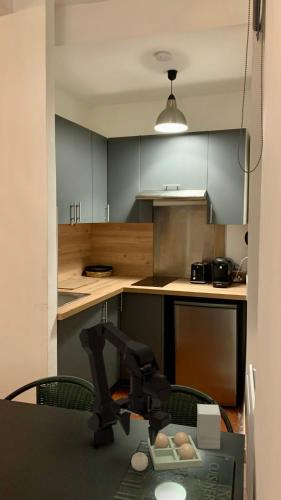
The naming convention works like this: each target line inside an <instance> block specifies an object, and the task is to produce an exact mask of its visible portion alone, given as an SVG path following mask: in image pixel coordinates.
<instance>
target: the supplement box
mask: <svg viewBox="0 0 281 500" xmlns="http://www.w3.org/2000/svg"><path fill="white" fill-rule="evenodd" d="M196 409H197V411H196V412H197V413H196V414H197V415H196V420H197V421H196V442H197V443H196V444H197V449H205V450H220V449H221V426H222V425H221V417H222V415H221V411H220V408H219V405H218V404H201V403H197V407H196Z"/></svg>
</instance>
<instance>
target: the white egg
mask: <svg viewBox="0 0 281 500" xmlns="http://www.w3.org/2000/svg"><path fill="white" fill-rule="evenodd" d="M130 462H131V466H132V468H133V469H134V470H135V471H137V472H143V471H144V470H146V469H147V467H148V464H149V458H148V456H147V454H145V453H143V452H142V451H141V452H140V451H139V452H136V453H134V454H133V455H132V457H131V461H130Z"/></svg>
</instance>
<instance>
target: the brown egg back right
mask: <svg viewBox="0 0 281 500" xmlns="http://www.w3.org/2000/svg"><path fill="white" fill-rule="evenodd" d="M188 435H189V434H187V433H186V432H183V431H180V432H177V433H176V434H175V435H174V436H175V437H174V444H175V445H176V447H177V448H178V447H180V446H181V445H182V444H185V443H187V444H189V437H188Z"/></svg>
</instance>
